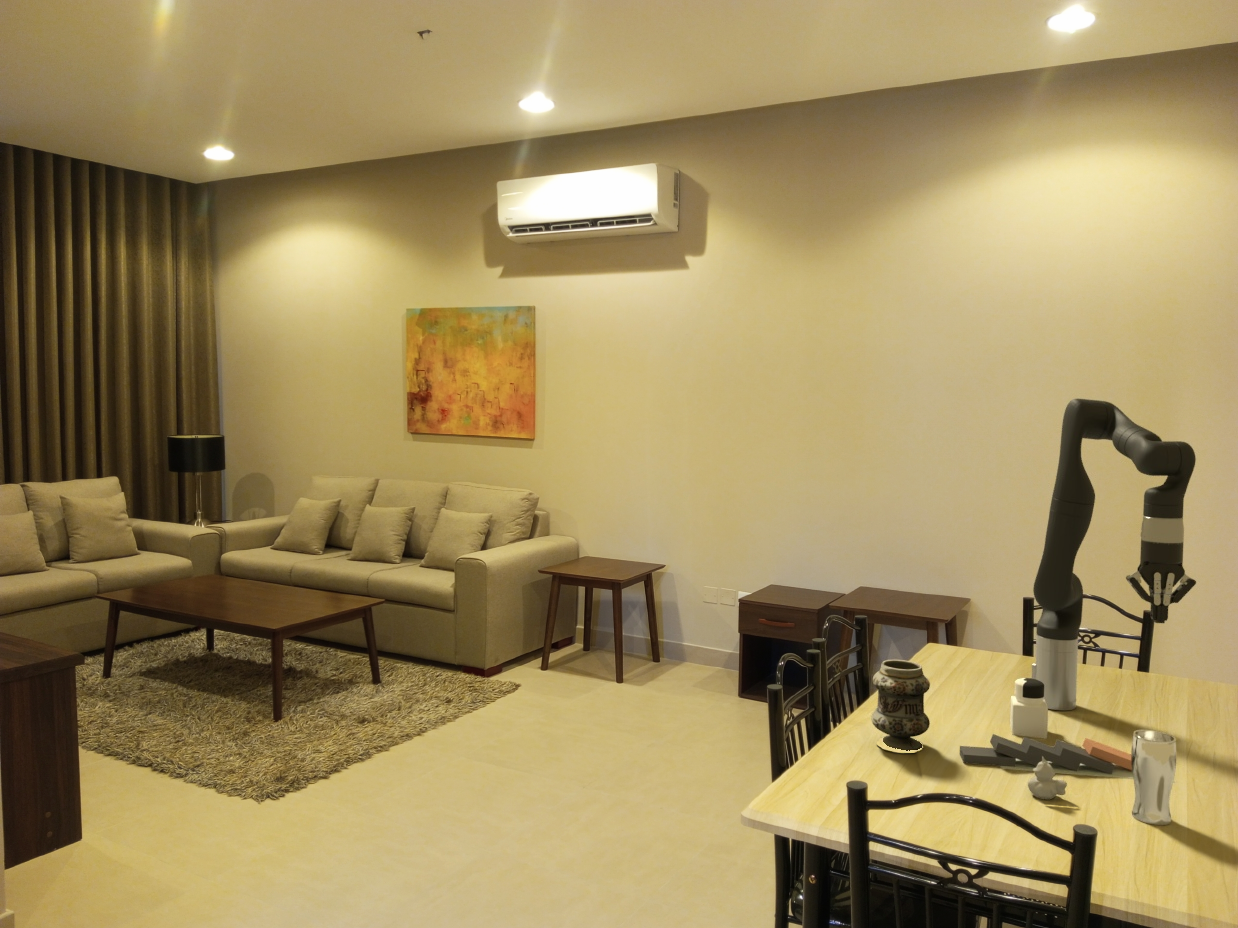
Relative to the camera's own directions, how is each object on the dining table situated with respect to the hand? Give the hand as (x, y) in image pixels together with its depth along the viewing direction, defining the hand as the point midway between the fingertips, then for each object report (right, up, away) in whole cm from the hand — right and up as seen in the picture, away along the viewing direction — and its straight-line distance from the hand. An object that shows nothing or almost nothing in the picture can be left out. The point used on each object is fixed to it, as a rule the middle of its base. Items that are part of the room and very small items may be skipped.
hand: (1159, 622), depth 190 cm
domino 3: (-18, -28, -2) cm, 34 cm away
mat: (-17, -29, -3) cm, 34 cm away
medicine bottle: (-19, -28, +18) cm, 38 cm away
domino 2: (-24, -28, -1) cm, 37 cm away
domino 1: (-30, -28, 0) cm, 41 cm away
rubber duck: (-31, -30, -17) cm, 46 cm away
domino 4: (-12, -28, -4) cm, 31 cm away
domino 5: (-6, -28, -3) cm, 29 cm away
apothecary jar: (-50, -29, +10) cm, 59 cm away
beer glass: (-16, -31, -25) cm, 43 cm away
